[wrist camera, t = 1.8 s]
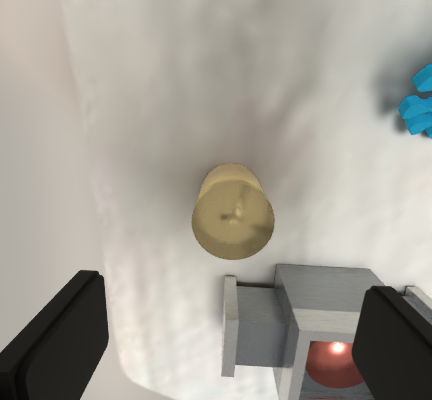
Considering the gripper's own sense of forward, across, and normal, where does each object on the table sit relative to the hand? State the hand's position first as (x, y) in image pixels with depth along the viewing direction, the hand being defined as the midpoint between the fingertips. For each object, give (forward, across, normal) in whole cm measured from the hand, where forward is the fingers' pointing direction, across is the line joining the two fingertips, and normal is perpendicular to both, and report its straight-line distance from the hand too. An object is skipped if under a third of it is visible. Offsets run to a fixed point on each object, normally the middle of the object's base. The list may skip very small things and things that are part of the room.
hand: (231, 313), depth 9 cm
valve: (+14, -9, +10) cm, 20 cm away
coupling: (+14, 0, -1) cm, 14 cm away
